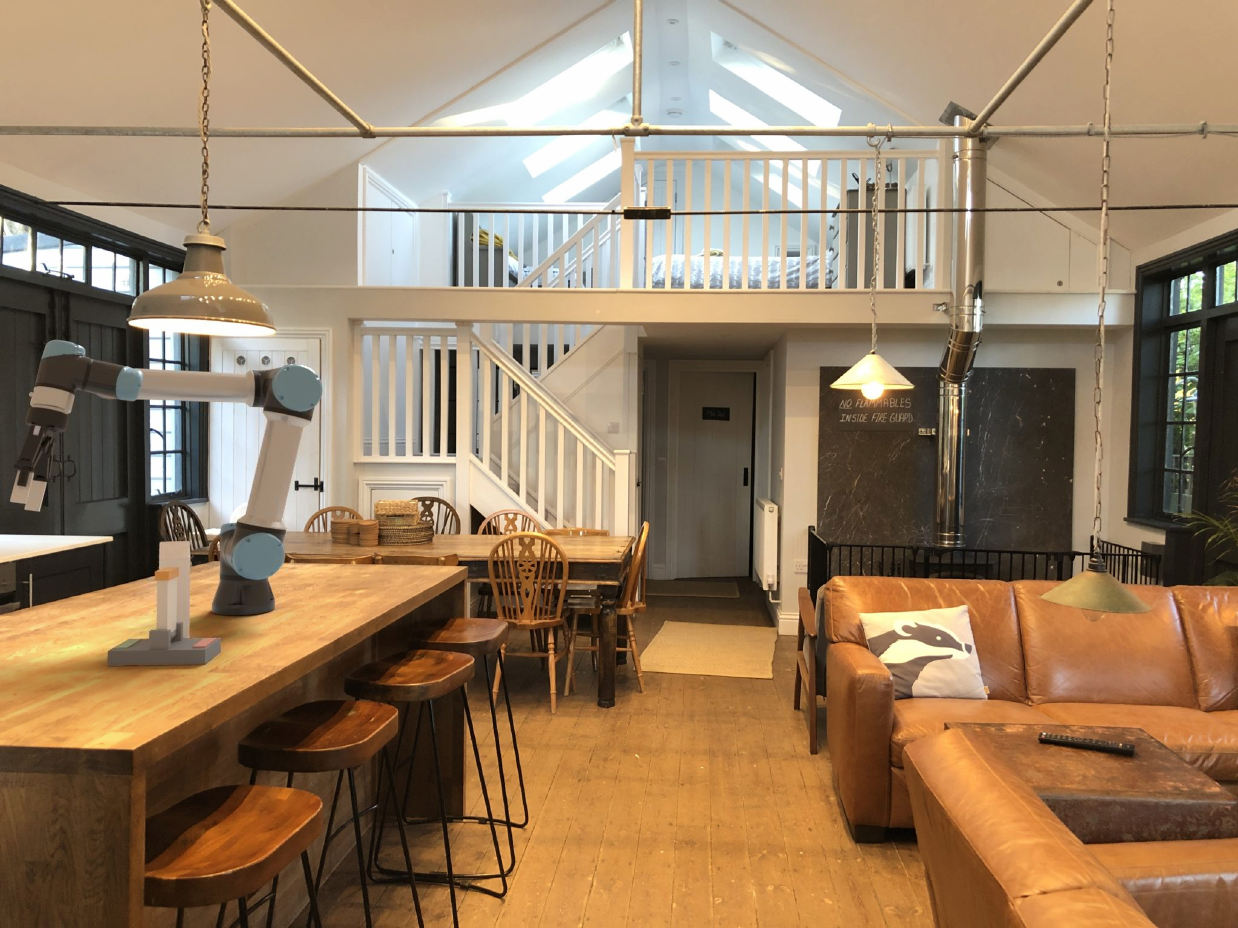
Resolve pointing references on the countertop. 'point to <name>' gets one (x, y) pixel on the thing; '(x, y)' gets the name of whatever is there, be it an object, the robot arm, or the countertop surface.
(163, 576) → the handle
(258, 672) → the countertop surface
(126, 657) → the switch plate
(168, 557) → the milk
